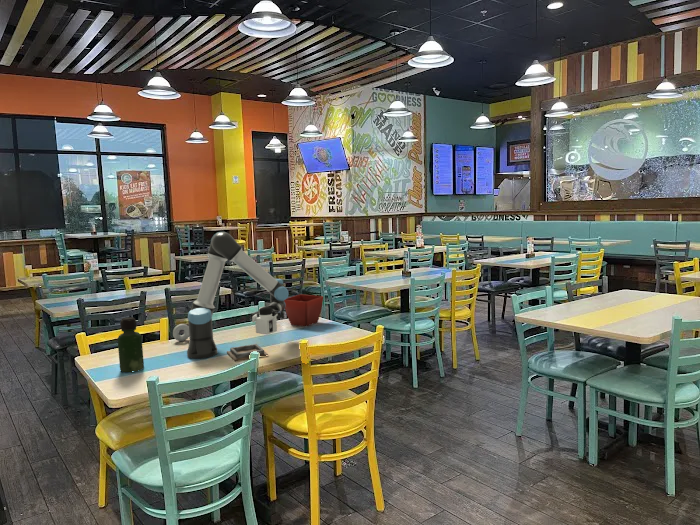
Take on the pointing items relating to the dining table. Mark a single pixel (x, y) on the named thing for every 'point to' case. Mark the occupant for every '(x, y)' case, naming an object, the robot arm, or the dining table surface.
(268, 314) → the container
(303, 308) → the plant pot
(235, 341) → the dining table surface
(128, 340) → the dark green bottle
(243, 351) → the plate
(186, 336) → the donut
